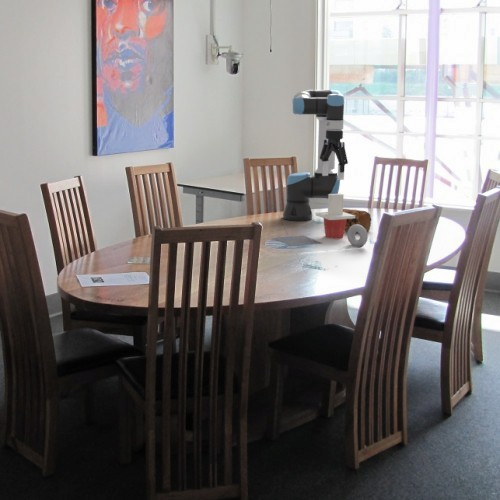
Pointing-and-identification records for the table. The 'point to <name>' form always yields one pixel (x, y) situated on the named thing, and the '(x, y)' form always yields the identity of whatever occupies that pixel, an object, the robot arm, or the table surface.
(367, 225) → the bread
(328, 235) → the flower pot
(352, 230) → the donut
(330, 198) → the lid
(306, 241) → the mat
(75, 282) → the table surface
